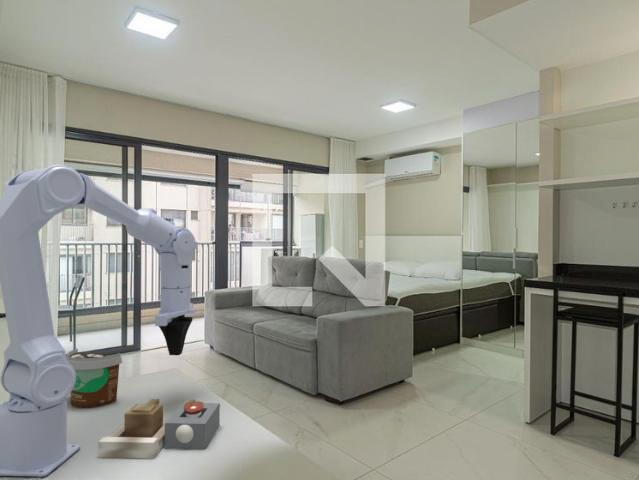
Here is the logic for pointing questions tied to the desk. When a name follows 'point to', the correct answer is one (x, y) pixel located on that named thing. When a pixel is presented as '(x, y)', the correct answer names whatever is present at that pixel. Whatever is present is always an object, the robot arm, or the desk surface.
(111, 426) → the desk surface
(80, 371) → the food container
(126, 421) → the block
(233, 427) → the desk surface
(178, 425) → the grey housing block
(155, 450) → the channel
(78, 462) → the desk surface
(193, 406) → the plunger
